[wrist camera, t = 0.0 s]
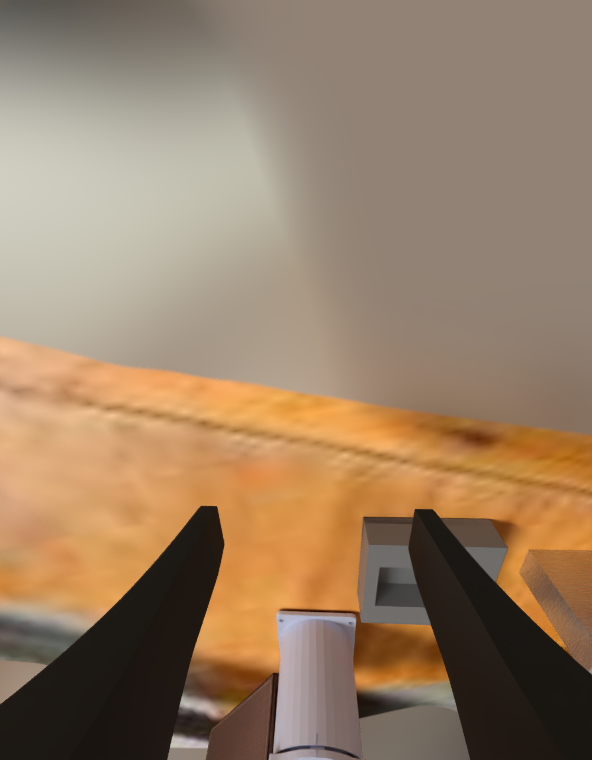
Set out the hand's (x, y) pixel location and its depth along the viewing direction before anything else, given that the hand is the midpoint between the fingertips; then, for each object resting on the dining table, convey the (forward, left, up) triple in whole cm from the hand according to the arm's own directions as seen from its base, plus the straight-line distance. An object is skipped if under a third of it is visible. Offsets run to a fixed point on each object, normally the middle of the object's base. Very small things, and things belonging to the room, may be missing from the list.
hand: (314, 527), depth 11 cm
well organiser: (-16, -9, -10) cm, 21 cm away
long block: (-16, -21, -10) cm, 28 cm away
